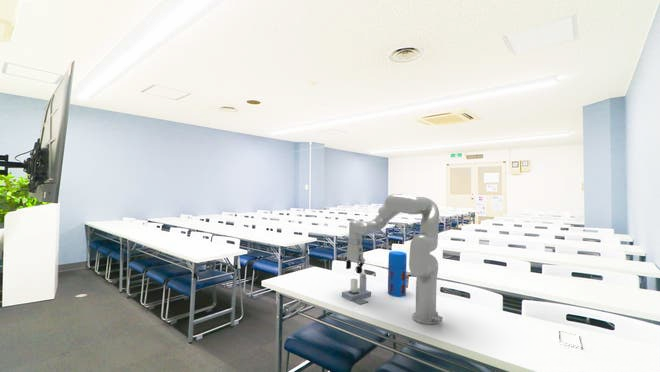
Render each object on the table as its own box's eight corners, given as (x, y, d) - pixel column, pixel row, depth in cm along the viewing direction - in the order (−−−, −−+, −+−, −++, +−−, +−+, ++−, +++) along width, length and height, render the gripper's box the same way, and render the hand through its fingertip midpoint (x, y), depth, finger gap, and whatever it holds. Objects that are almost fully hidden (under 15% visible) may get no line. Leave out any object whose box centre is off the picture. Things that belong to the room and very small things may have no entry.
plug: (359, 297, 170) (359, 280, 170) (352, 299, 168) (353, 281, 168) (354, 294, 174) (355, 278, 174) (348, 296, 172) (348, 279, 172)
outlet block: (370, 296, 173) (371, 277, 173) (351, 301, 164) (352, 281, 164) (360, 291, 180) (361, 274, 180) (341, 296, 171) (342, 277, 172)
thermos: (404, 291, 183) (405, 251, 184) (407, 297, 172) (408, 255, 173) (386, 290, 184) (387, 250, 185) (388, 296, 173) (389, 254, 174)
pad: (368, 302, 163) (368, 301, 163) (360, 304, 159) (360, 303, 159) (360, 299, 167) (360, 298, 168) (352, 301, 164) (352, 300, 164)
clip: (366, 276, 174) (366, 272, 174) (361, 276, 173) (361, 272, 174) (359, 270, 188) (359, 266, 188) (354, 270, 188) (354, 266, 188)
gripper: (369, 243, 167) (368, 273, 167) (350, 238, 181) (349, 266, 181) (360, 244, 163) (358, 275, 162) (340, 239, 177) (339, 268, 176)
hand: (353, 270), depth 172 cm, fingers open, 9 cm apart
